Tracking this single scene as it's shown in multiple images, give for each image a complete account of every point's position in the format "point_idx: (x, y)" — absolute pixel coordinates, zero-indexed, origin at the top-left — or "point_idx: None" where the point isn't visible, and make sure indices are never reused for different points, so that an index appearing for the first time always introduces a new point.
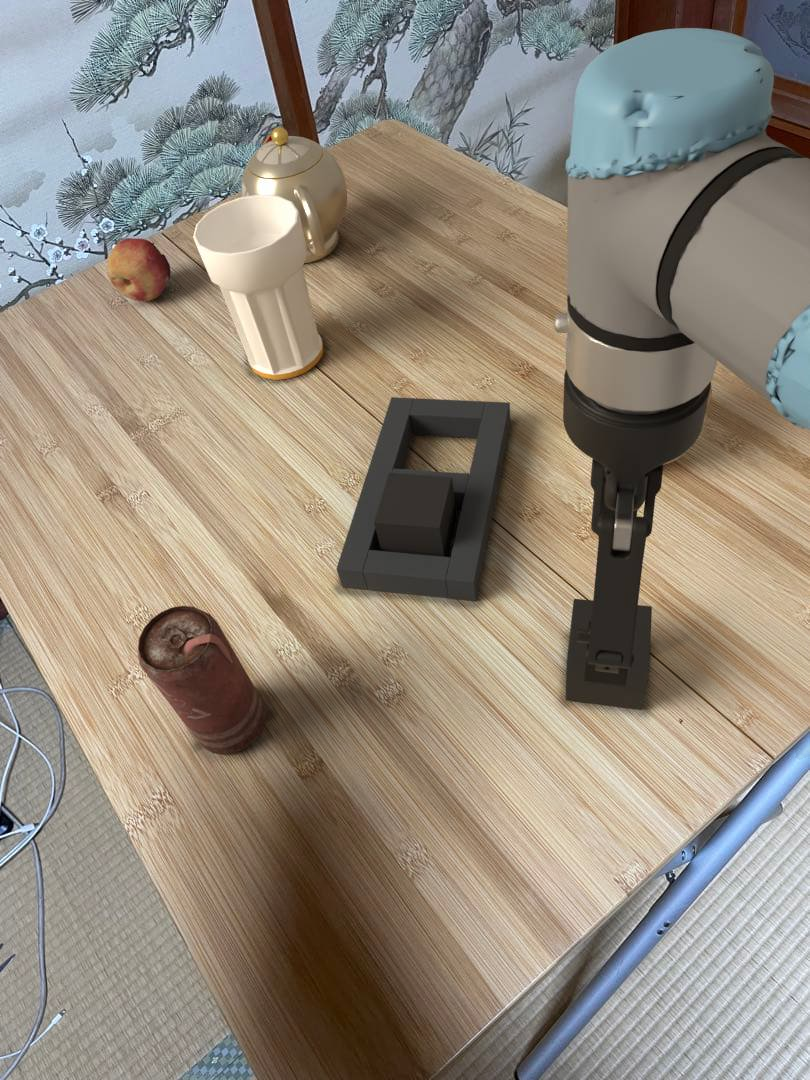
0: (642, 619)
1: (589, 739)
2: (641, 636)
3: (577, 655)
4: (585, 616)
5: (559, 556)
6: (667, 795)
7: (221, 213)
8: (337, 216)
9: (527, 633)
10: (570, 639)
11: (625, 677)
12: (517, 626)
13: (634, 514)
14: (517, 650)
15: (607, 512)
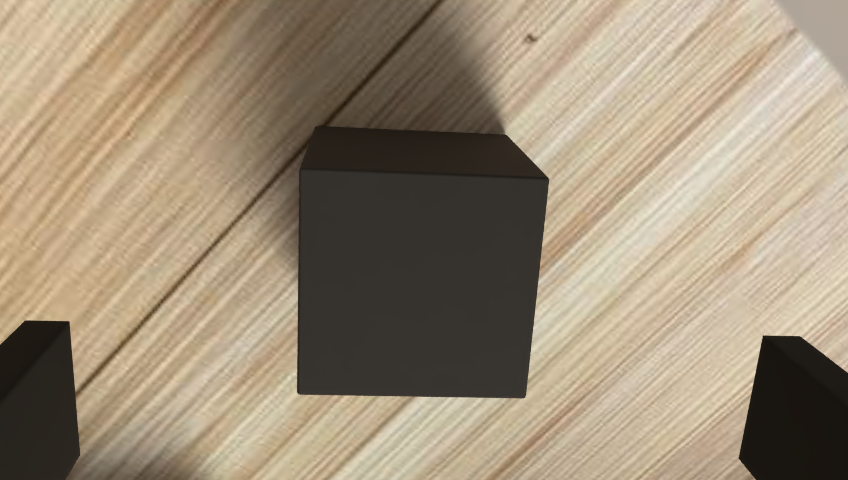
0: (355, 196)
1: (587, 253)
2: (420, 199)
3: (496, 372)
4: (359, 359)
5: None
6: (721, 77)
7: None
8: None
9: (311, 408)
10: (444, 394)
11: (833, 366)
12: (293, 432)
13: (35, 369)
14: (362, 425)
15: (47, 477)
